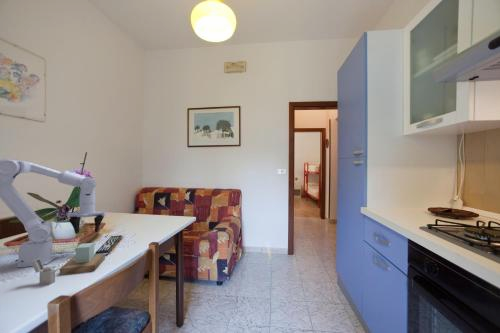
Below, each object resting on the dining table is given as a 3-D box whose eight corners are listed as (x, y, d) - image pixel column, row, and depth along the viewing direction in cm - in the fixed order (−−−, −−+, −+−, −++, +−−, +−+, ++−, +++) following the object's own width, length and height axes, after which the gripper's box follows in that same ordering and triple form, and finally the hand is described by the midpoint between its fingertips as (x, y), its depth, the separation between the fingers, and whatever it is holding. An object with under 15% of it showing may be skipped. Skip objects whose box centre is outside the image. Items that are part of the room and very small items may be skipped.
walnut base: (59, 276, 77) (59, 268, 77) (74, 263, 87) (74, 256, 87) (94, 272, 80) (94, 264, 80) (105, 260, 91) (105, 253, 91)
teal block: (75, 263, 81) (75, 248, 81) (81, 258, 85) (81, 243, 85) (89, 262, 82) (89, 246, 82) (93, 257, 87) (94, 242, 87)
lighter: (55, 281, 72) (55, 258, 72) (50, 284, 71) (50, 261, 71) (36, 280, 73) (36, 258, 73) (30, 283, 71) (31, 260, 71)
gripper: (63, 205, 91) (63, 236, 91) (102, 204, 95) (101, 233, 95) (72, 202, 97) (71, 231, 97) (107, 201, 102) (107, 229, 102)
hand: (87, 232), depth 97 cm, fingers open, 7 cm apart
